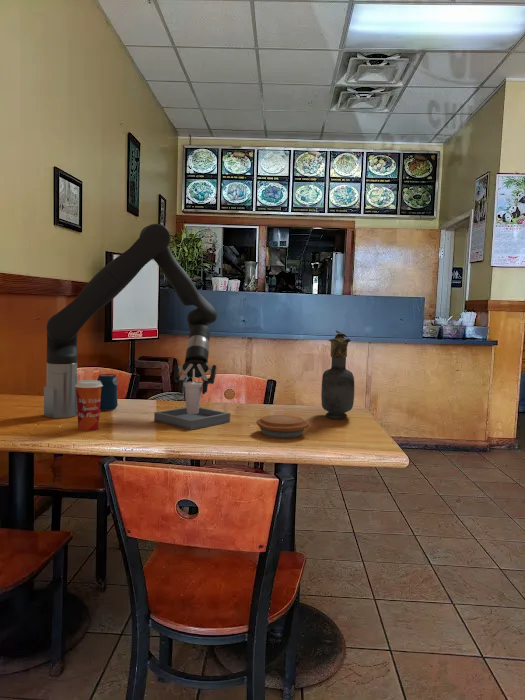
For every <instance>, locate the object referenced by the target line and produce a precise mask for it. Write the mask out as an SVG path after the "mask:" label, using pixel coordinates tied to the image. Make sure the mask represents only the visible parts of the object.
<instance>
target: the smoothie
mask: <svg viewBox="0 0 525 700" xmlns="http://www.w3.org/2000/svg"><path fill="white" fill-rule="evenodd" d="M195 378H196V377H195V369H193V378H192V381H185V382H184V383H183V386H184V389H183V392H184V397H185V398H184V399H185V405H186V406H185V407H186V409H187V413H188V414H197V413H199V407H200V403H201V398H202V397H201V396H202V387H203V381H195Z"/></svg>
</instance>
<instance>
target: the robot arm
mask: <svg viewBox="0 0 525 700" xmlns="http://www.w3.org/2000/svg"><path fill="white" fill-rule="evenodd" d="M170 243H171V232H170V230H169V228H168V227H166V226H165V225H164V224H162V223H161V224H159V223H151V224H149V225H147V226H145V227H143V228H142V229H141V231H140V234H139V237H138V239H137V240H135V242H134V243H132V245H131V246H130V247H129V248H128V249H126V250H125V251H124V252H122V253H121V254H120V255H118V256H116V257H115V258H114V259H113V260H111V261H110V262H108V263H107V264H105V266H103V267H102V268H101V269H100V270H99V271H98V272H97V273H96V274H95V275H94V276H93V277H92V278H91V279H90V280H89V282H87V283H86V285H85V286H84V287H83V289H82V290H81V291H80V292H79V293H78V295H77V296H76V297H75V298H74V299H73V300H72V301H71V302H70V303H69V304H67V305H66V306H65V307H64V308H62V309H60V310H59V311H58V312H57V313H55V314H53V315H52V316H51V317H50V318H49V319H48V320H47V322H46V326H45V327H46V329H45V330H46V385H44V387H43V416H44V417H48V418H50V419H59V418H60V419H62V418H64V419H65V418H70V417H71V418H72V417H75V416H78V414H77V396H76V387H75V385H76V383H77V381H78V332H79V331H80V330H81V328H82V327H83V326H85V324H86V323H87V321H88V320H89V319H90V318H91V317H92V316H94V315H95V314H96V313H97V312H98V311H99V310H101V309H102V308H103V307H105V306H106V305H108V304H109V303H110V302H111V301H112V300H113V299H115V298H116V297H117V296H118V295H119V294H120V293H121V292H122V291H123V290H124V289H125V288H126V287H127V286H128V284H130V283H131V282H132V280H133V279H134V278H135V277H136V276H137V275H138V274H139V273H140V272H141V270H142V269H143V268H144V266H146V265H147V264H148V263H149V262H150V261H152V260H154V261H155V263H156V265H157V266H158V267H159V268H160V270H161V271H162V273H163V274H164V277H166V279H167V281H168V282H169V284H170V286H171V287H172V289H173V291H174V292H175V294H176V295H177V297H178V299H179V300H180V303H181V304H182V305H183V306H185V307H187V306H195V307H196V308H194V309H192V310H190V311H189V312H188V314H187V317H186V320H187V324H188V330H189V333H188V334H189V335H188V342H187V345H186V349H185V350H186V351H185V358H184V363H183V364H181V365H180V364H178V363H175V364H174V365H173V380H174V383H176V384H178V387H177V388H178V392H179V393H180V394H181V395H182V394H183V393H184V386H183V383H184V382H187V381H188V380H189V379H190V378H191V379H193V369H195V378H197V379H199V378H200V379H201V382H202V383H203V386H202V392H201V395H205V394H206V393H208V385H209V384H211V385H214V383H215V379H216V375H217V365H215V364H213V365H212V366H211V365H208V362H209V354H210V338H211V331H210V329H209V327H208V326H209V325H211V324H213V323H215V322H216V321H217V317H218V315H217V310H216V308H215V307H214V306H213V305H212V304H211V302H209V301H208V300H207V299H206V298H205V296H203V295H202V293H200V292H199V290H198V289H197V287H196V284H194V281H193V280H192V279H191V277H190V275H189V274H188V273H187V272H186V271H185V270H184V268H183V267H182V266H181V265H180V264H179V262H178V260H177V259H176V258H175V256H174V254H173V253H172V251H171V249H170V247H169V245H170ZM182 370H183V372H182ZM208 371H209V373H210V375H209V377H208V376H207V375H206V374H207V372H208ZM181 372H182V374H181V376H179V375H180V374H179V373H181Z"/></svg>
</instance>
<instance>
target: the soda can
mask: <svg viewBox="0 0 525 700" xmlns="http://www.w3.org/2000/svg"><path fill="white" fill-rule="evenodd" d="M96 380H98V381H101V383H102V385H103V386H102V387H101V401H100V411H114V410H116V409H117V407H118V389H119V388H118V387H119V386H118V378H117V376H116V374H113V373H101V374H99V375H98V377H97V379H96Z"/></svg>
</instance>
